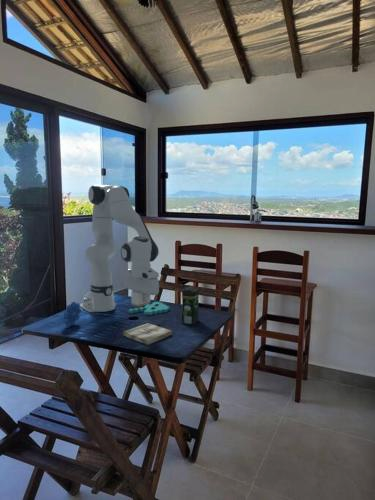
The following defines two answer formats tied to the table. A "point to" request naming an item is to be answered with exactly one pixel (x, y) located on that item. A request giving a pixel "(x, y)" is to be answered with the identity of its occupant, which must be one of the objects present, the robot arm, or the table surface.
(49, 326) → the table surface
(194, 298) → the coffee jar
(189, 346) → the table surface
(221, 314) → the table surface
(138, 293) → the block
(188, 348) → the table surface
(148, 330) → the birch board
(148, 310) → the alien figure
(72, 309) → the grapes
